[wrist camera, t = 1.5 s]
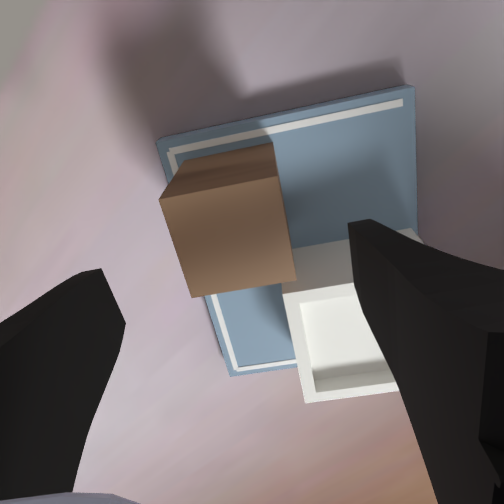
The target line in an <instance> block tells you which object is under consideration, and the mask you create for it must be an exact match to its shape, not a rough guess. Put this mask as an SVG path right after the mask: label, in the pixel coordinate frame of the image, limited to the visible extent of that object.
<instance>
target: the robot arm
mask: <svg viewBox="0 0 504 504" xmlns="http://www.w3.org/2000/svg"><path fill="white" fill-rule="evenodd" d="M347 224H348V234H349V243H350V253H351V263H352V272H353V282H354V287H355V290H356V293H357V296H358V300H359V303H360V306H361V309H362V312H363V314H364V316H365V318H366V321H367V323H368V325H369V327H370V329H371V331H372V333H373V335H374V337H375V339H376V341H377V343H378V345H379V348H380V350H381V352H382V354H383V356H384V358H385V360H386V362H387V364H388V366H389V368H390V370H391V372H392V374H393V377H394V379H395V381H396V384H397V386H398V388H399V391H400V393H401V396H402V399H403V402H404V404H405V407H406V410H407V413H408V416H409V418H410V421H411V424H412V427H413V430H414V433H415V436H416V439H417V442H418V445H419V447H420V450H421V453H422V456H423V459H424V462H425V465H426V468H427V471H428V474H429V477H430V480H431V483H432V486H433V490H434V493H435V496H436V499H437V502H438V504H504V270H501V269H497V268H493V267H489V266H485V265H482V264H478V263H475V262H472V261H468V260H465V259H461V258H458V257H456V256H453V255H450V254H447V253H444V252H442V251H439V250H437V249H434V248H432V247H429V246H427V245H425V244H422V243H420V242H418V241H416V240H413V239H411V238H409V237H407V236H405V235H403V234H401V233H399V232H397V231H395V230H393V229H391V228H389V227H387V226H385V225H383V224H381V223H379V222H377V221H375V220H372V219H365V220H360V221H354V222H349V223H347ZM125 325H126V322H125V320H124V318H123V316H122V313H121V311H120V309H119V307H118V305H117V302H116V300H115V298H114V296H113V293H112V291H111V289H110V287H109V285H108V282H107V280H106V278H105V276H104V273H103V271H102V269H95V270H90V271H84V272H81V273H79V274H76V275H74V276H72V277H71V278H69V279H67V280H66V281H64V282H62V283H61V284H59V285H58V286H56V287H54V288H53V289H51V290H50V291H48V292H47V293H45V294H44V295H42V296H41V297H39V298H38V299H36V300H35V301H33V302H32V303H30V304H29V305H27V306H26V307H24V308H23V309H21V310H20V311H18V312H17V313H15V314H13V315H12V316H10V317H9V318H7V319H6V320H4V321H2V322H1V323H0V504H139V503H137V502H134V501H131V500H128V499H125V498H122V497H120V496H117V495H114V494H102V493H73V492H72V491H73V487H74V483H75V479H76V475H77V470H78V467H79V463H80V460H81V456H82V452H83V449H84V445H85V442H86V438H87V435H88V432H89V429H90V426H91V423H92V420H93V418H94V415H95V413H96V410H97V408H98V405H99V403H100V400H101V398H102V395H103V393H104V390H105V388H106V385H107V383H108V381H109V378H110V376H111V373H112V370H113V368H114V365H115V363H116V360H117V357H118V355H119V352H120V348H121V344H122V340H123V335H124V330H125Z"/></svg>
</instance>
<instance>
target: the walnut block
mask: <svg viewBox="0 0 504 504" xmlns="http://www.w3.org/2000/svg"><path fill="white" fill-rule="evenodd" d="M159 202H160V205H161V208H162V211H163V214H164V217H165V220H166V223H167V226H168V229H169V232H170V235H171V238H172V241H173V244H174V247H175V250H176V253H177V256H178V259H179V262H180V265H181V268H182V271H183V274H184V277H185V280H186V283H187V286H188V289H189V291H190V294H191V297H192V298H195V297H201V296H207V295H213V294H219V293H225V292H231V291H236V290H242V289H248V288H254V287H260V286H266V285H272V284H278V283H284V282H290V281H296V280H297V278H296V272H295V265H294V259H293V252H292V246H291V239H290V233H289V227H288V221H287V215H286V210H285V205H284V199H283V194H282V188H281V183H280V177H279V172H278V166H277V161H276V156H275V150H274V145H273V142H270V143H265V144H260V145H255V146H251V147H246V148H241V149H236V150H231V151H227V152H222V153H217V154H212V155H208V156H203V157H198V158H193V159H188V160H184V161H183V163H182V164H181V166H180V167H179V169H178V171H177V172H176V174H175V175H174V177H173V178H172V180H171V181H170V183H169V184H168V186H167V187H166V189H165V190H164V192H163V194H162V195H161V197H160V198H159Z"/></svg>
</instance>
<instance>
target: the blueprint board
mask: <svg viewBox="0 0 504 504" xmlns="http://www.w3.org/2000/svg"><path fill="white" fill-rule="evenodd" d="M270 142H273V145H274V150H275V156H276V161H277V166H278V172H279V177H280V183H281V188H282V194H283V199H284V205H285V210H286V215H287V221H288V227H289V233H290V239H291V246H292V252H293V259H294V265H295V272H296V278H297V280H296V281H290V282H284V283H278V284H272V285H266V286H260V287H254V288H248V289H242V290H236V291H231V292H225V293H219V294H213V295H207V296H204V297H205V300H206V303H207V306H208V309H209V312H210V315H211V319H212V322H213V325H214V328H215V331H216V334H217V337H218V341H219V344H220V347H221V350H222V353H223V356H224V359H225V363H226V366H227V369H228V372H229V375H230V377H232V376H239V375H246V374H253V373H260V372H267V371H274V370H281V369H288V368H295V367H298V371H299V376H300V381H301V385H302V390H303V395H304V400H305V403H311V402H319V401H326V400H334V399H341V398H349V397H356V396H364V395H371V394H379V393H386V392H394V391H399V388H398V386H397V384H396V381H395V379H394V377H393V374H392V372H391V370H390V368H389V366H388V364H387V362H386V360H385V358H384V356H383V354H382V352H381V350H380V348H379V345H378V343H377V341H376V339H375V337H374V335H373V333H372V331H371V329H370V327H369V325H368V323H367V321H366V318H365V316H364V314H363V312H362V309H361V306H360V303H359V300H358V296H357V293H356V290H355V287H354V282H353V272H352V263H351V253H350V243H349V234H348V224H347V223H349V222H354V221H360V220H365V219H372V220H375V221H377V222H379V223H381V224H383V225H385V226H387V227H389V228H391V229H393V230H395V231H397V232H399V233H401V234H403V235H405V236H407V237H409V238H411V239H413V240H416V241H418V242H420V243H422V244H424V243H423V242H422V240H421V239H420V238H419V237H418V220H417V172H416V123H415V87H414V86H410V85H407V84H406V85H402V86H397V87H393V88H388V89H383V90H379V91H374V92H369V93H365V94H360V95H356V96H351V97H346V98H342V99H337V100H333V101H328V102H323V103H319V104H314V105H310V106H305V107H300V108H296V109H291V110H286V111H282V112H277V113H273V114H268V115H263V116H259V117H254V118H250V119H245V120H240V121H236V122H231V123H227V124H222V125H217V126H213V127H208V128H203V129H199V130H194V131H190V132H185V133H180V134H176V135H171V136H167V137H162V138H160V139H159V140H158V141H157V142H156V146H157V149H158V152H159V155H160V158H161V161H162V165H163V168H164V171H165V174H166V177H167V180H168V183H170V181H171V180H172V178H173V177H174V175H175V174H176V172H177V171H178V169H179V167H180V166H181V164H182V163H183V161H184V160H188V159H193V158H198V157H203V156H208V155H212V154H217V153H222V152H227V151H231V150H236V149H241V148H246V147H251V146H255V145H260V144H265V143H270Z"/></svg>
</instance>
